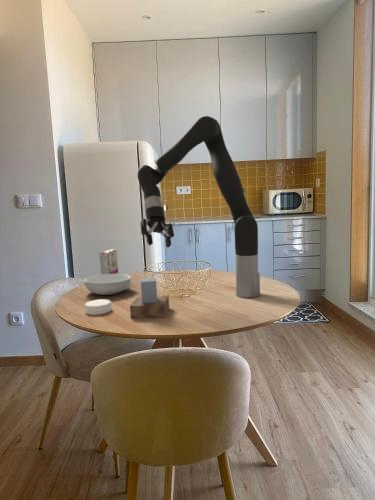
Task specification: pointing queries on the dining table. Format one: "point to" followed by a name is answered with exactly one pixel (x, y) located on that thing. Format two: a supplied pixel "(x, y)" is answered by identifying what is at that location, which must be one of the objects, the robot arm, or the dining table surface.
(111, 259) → the candy bar box
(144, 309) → the walnut block
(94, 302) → the white round disc
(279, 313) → the dining table surface
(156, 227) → the robot arm
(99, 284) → the serving bowl
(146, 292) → the slate-blue block
